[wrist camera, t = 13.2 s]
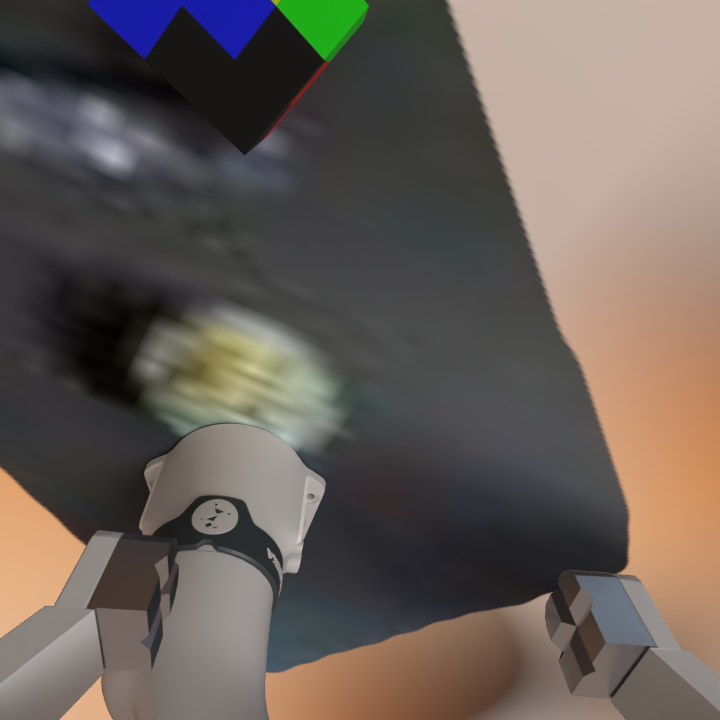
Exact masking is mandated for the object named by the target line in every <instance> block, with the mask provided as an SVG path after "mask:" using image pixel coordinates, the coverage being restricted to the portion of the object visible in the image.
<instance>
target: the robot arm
mask: <svg viewBox="0 0 720 720" xmlns="http://www.w3.org/2000/svg"><path fill="white" fill-rule="evenodd" d="M144 476H145V479H146V482H147V485H148V488H149V491H150V495H149V498H148V500H147V503H146V506H145V508H144V511H143V514H142V517H141V519H140V523H139V529H140V530H142V533H143V535H142V534H132V533H123V532H112V531H101V530H98V531H97V532H96V533H95V534H94V535H93V536H92V537H91V539H90V541H89V542H88V544H87V546H86V548H85V550H84V552H83V554H82V555H81V557H80V559H79V561H78V563H77V564H76V566H75V568H74V570H73V572H72V574H71V575H70V577H69V579H68V581H67V583H66V585H65V586H64V588H63V590H62V592H61V594H60V596H59V597H58V599H57V601H56V603H55V605H54V606H44V607H43V608H42V609H40V610H39V611H38V612H36V613H35V614H33V615H32V616H31V617H29V618H28V619H27V620H25V621H24V622H22V623H21V624H20V625H18V626H17V627H16V628H14V629H13V630H11V631H10V632H9V633H7V634H6V635H4V636H3V637H2V638H0V720H59V719H60V718H61V717H62V716H63V715H64V714H65V713H66V712H67V711H68V710H69V709H70V708H71V707H72V706H73V705H74V704H75V702H77V701H78V700H79V699H80V697H81V696H82V695H83V694H84V693H85V692H86V691H87V690H88V689H89V688H90V687H91V686H92V685H93V684H94V683H95V682H96V681H97V680H98V679H99V678H100V677H101V676H102V679H101V684H102V692H103V696H104V700H105V703H106V706H107V709H108V711H109V713H110V715H111V717H112V719H113V720H269V717H268V712H267V706H266V698H265V676H266V660H267V648H268V637H269V628H270V619H271V613H272V612H273V611H274V609H275V607H276V605H277V601H278V597H279V594H280V591H281V586H282V578H283V576H282V574H283V573H285V572H290V573H297V572H298V569H299V566H300V561H301V552H302V548H303V540H304V537H305V535H306V533H307V530H308V528H309V526H310V524H311V521H312V519H313V517H314V515H315V512H316V510H317V508H318V506H319V503H320V501H321V499H322V497H323V494H324V491H325V486H326V483H325V481H324V479H323V478H322V477H321V476H319V475H318V474H316V473H315V472H313V471H312V470H310V469H308V468H307V467H306V466H305V465H304V464H303V463H302V461H301V460H300V458H299V457H298V455H297V454H296V453H295V451H294V450H293V449H292V448H291V447H290V446H289V445H288V444H287V443H285V442H284V441H283V440H282V439H280V438H279V437H277V436H275V435H273V434H272V433H270V432H267V431H265V430H262V429H259V428H256V427H253V426H248V425H242V424H218V425H212V426H208V427H204V428H201V429H199V430H196V431H194V432H192V433H191V434H189V435H187V436H186V437H185V438H183V439H182V440H181V441H180V442H179V443H178V444H177V445H176V446H175V447H174V449H173V450H171V451H170V452H169V453H168V454H165V455H163V456H160V457H158V458H155V459H153V460H151V461H150V462H149V463H148V464H147V465H146V468H145V471H144ZM310 494H313V495H310ZM558 583H559V585H560V589H558V590H557V591H555V592H553V593H552V594H550V597H549V599H548V601H547V603H546V611H545V620H546V625H547V630H548V633H549V636H550V638H551V641H552V642H553V643H554V644H555V645H556V646H557V647H558V648H559V649H560V650H561V651H562V653H561V656H560V660H559V664H560V666H561V669H562V671H563V674H564V677H565V680H566V683H567V685H568V688H569V691H570V693H571V695H574V696H586V697H598V698H608V699H611V702H612V704H613V705H614V706H615V707H616V708H617V710H618V711H619V712H620V713H621V714H622V716H623V717H624V718H625V719H626V720H720V677H719V676H718V675H717V674H715V673H714V672H713V671H712V670H711V669H710V668H708V667H707V666H706V665H705V664H704V663H703V662H701V661H700V660H699V659H698V658H697V657H695V656H694V655H693V654H692V653H691V652H689V651H688V650H682V649H680V647H679V645H678V643H677V642H676V640H675V639H674V637H673V635H672V633H671V631H670V630H669V628H668V626H667V625H666V623H665V621H664V619H663V618H662V616H661V615H660V613H659V611H658V609H657V608H656V606H655V604H654V603H653V601H652V599H651V597H650V596H649V594H648V592H647V591H646V589H645V587H644V585H643V584H642V582H641V581H640V580H639V579H638V578H637V577H636V576H633V575H621V574H610V573H602V572H588V571H573V570H567V571H565V572H563V573H562V574H561V576H560V578H559V579H558Z"/></svg>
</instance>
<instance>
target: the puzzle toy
mask: <svg viewBox="0 0 720 720" xmlns="http://www.w3.org/2000/svg"><path fill="white" fill-rule="evenodd" d="M88 6H89V7H90V8H91V9H92V10H93V11H94V12H95V13H96V14H97V15H99V16H100V17H101V18H102V19H103V20H104V21H105V22H106V23H107V24H108V25H109V26H110V27H111V28H112V29H113V30H114V31H115V32H116V33H117V34H118V35H119V36H120V37H122V38H123V39H124V40H125V41H126V42H127V43H128V44H129V45H130V46H131V47H132V48H133V49H134V50H135V51H136V52H137V53H138V54H139V55H140V56H141V57H142V58H144V59H145V60H146V61H147V62H148V63H149V64H150V65H151V66H152V67H153V68H154V69H155V70H156V71H157V72H158V73H159V74H160V75H161V76H162V77H163V78H164V79H165V80H167V81H168V82H169V83H170V84H171V85H172V86H173V87H174V88H175V89H176V90H177V91H178V92H179V93H180V94H181V95H182V96H183V97H184V98H185V99H186V100H187V101H189V102H190V103H191V104H192V105H193V106H194V107H195V108H196V109H197V110H198V111H199V112H200V113H201V114H202V115H203V116H204V117H205V118H206V119H207V120H208V121H209V122H210V123H212V124H213V125H214V126H215V127H216V128H217V129H218V130H219V131H220V132H221V133H222V134H223V135H224V136H225V137H226V138H227V139H228V140H229V141H230V142H231V143H232V144H234V145H235V146H236V147H237V148H238V149H239V150H240V151H241V152H242V153H243V154H244V155H246V154H247V153H248V152H249V151H250V150H252V149H253V148H254V147H255V146H256V145H257V144H259V143H260V142H261V141H262V140H263V139H265V138H266V137H267V136H268V135H269V134H270V133H271V131H272V130H273V129H274V128H275V127H276V125H277V124H278V123H279V122H280V121H281V120H282V118H283V117H284V116H285V115H286V114H287V112H288V111H289V110H290V109H291V108H292V106H293V105H294V104H295V103H296V102H297V100H298V99H299V98H300V97H301V96H302V94H303V93H304V92H305V91H306V90H307V89H308V87H309V86H310V85H311V84H312V83H313V81H314V80H315V79H316V78H317V77H318V75H319V74H320V73H321V72H322V71H323V69H324V68H325V67H326V66H327V65H328V64H329V62H330V61H331V60H332V59H333V58H334V56H335V55H336V54H337V53H338V52H339V50H340V49H341V48H342V47H343V46H344V44H345V43H346V42H347V41H348V40H349V39H350V37H351V36H352V35H353V34H354V33H355V31H356V30H357V29H358V28H359V27H360V25H361V24H362V23H363V21H364V18H365V16H366V13H367V10H368V7H369V6H368V5H367V3H366V2H365V1H364V0H90V2H89V3H88Z"/></svg>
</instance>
